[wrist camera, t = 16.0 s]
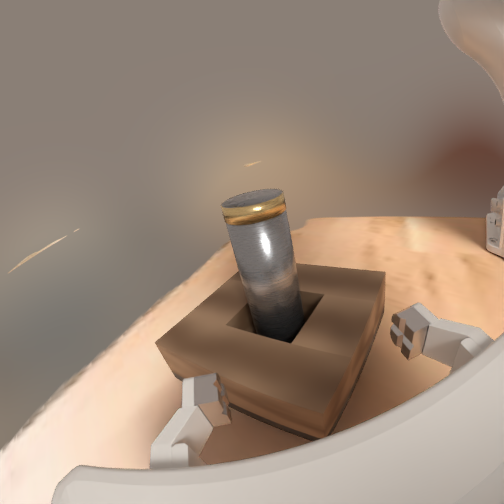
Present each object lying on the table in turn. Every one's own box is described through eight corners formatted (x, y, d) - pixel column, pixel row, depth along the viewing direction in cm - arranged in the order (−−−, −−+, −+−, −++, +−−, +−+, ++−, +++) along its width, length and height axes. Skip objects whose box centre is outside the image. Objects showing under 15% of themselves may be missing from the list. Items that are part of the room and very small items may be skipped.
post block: (261, 292, 36) (252, 259, 34) (383, 311, 26) (385, 272, 24) (175, 377, 25) (154, 342, 23) (325, 444, 15) (323, 413, 13)
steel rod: (275, 322, 28) (245, 190, 23) (315, 331, 25) (294, 187, 20) (251, 351, 25) (208, 209, 19) (293, 365, 22) (260, 207, 17)
